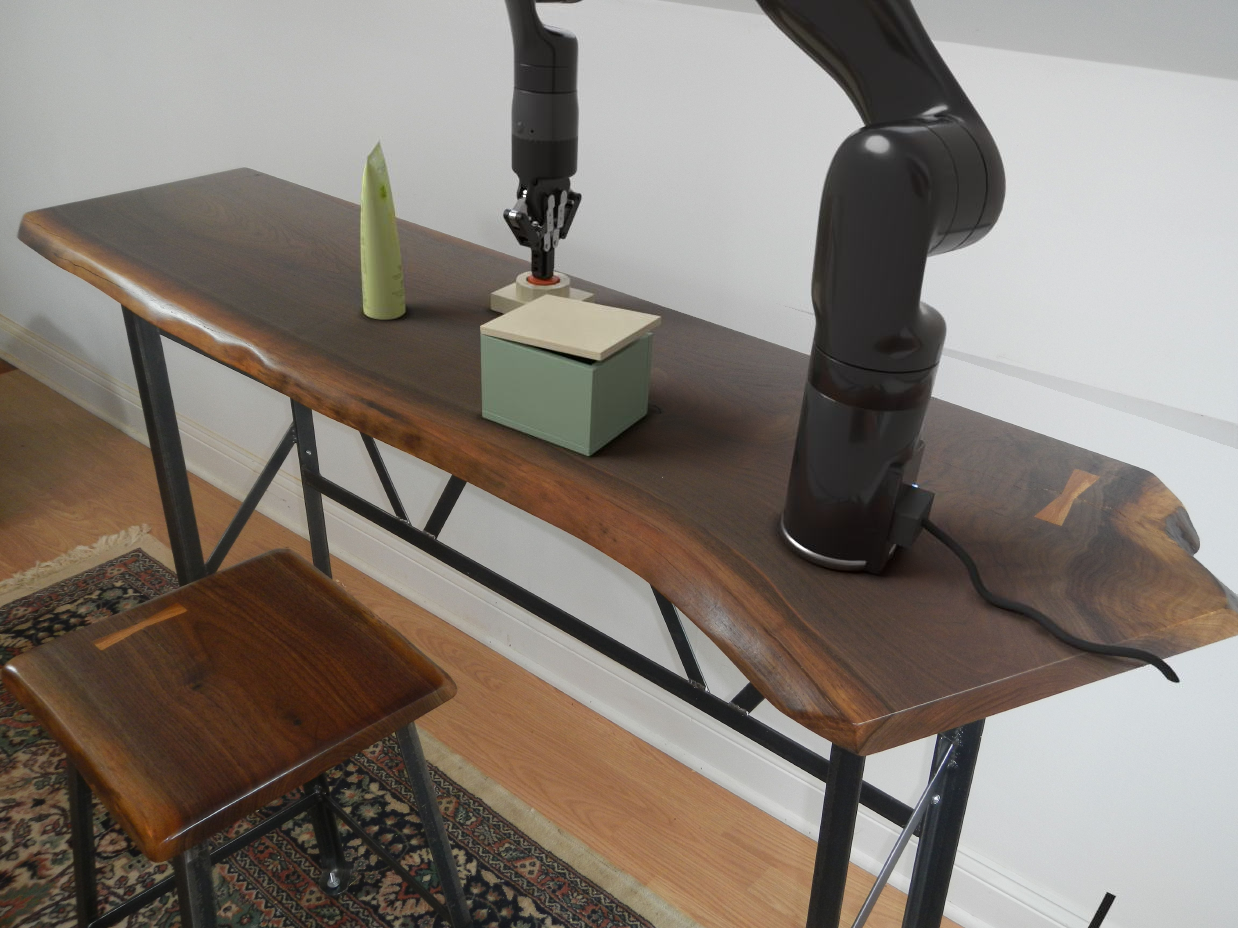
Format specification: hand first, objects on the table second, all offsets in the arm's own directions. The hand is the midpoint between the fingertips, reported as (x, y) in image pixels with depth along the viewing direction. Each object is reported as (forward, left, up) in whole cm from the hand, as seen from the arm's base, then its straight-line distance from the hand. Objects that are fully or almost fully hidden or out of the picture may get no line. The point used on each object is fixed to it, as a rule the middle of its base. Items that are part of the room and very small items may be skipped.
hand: (542, 277), depth 116 cm
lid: (-18, +21, +5) cm, 28 cm away
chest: (-18, +21, -4) cm, 28 cm away
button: (0, 0, -2) cm, 2 cm away
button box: (0, 0, -4) cm, 4 cm away
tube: (+14, +13, -4) cm, 20 cm away
